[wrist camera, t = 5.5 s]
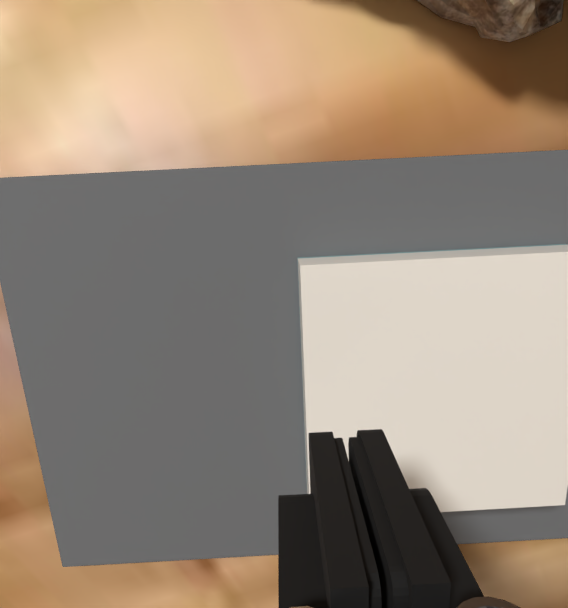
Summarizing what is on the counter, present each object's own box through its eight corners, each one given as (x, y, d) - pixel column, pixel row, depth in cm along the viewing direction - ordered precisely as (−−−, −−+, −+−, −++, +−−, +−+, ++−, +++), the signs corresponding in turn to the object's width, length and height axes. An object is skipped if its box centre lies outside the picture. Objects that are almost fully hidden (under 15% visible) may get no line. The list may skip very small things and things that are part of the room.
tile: (297, 257, 14) (564, 243, 14) (306, 489, 17) (537, 476, 17) (300, 265, 13) (600, 249, 13) (309, 519, 15) (565, 505, 15)
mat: (655, 146, 14) (671, 144, 14) (594, 524, 18) (605, 535, 17) (-10, 179, 14) (-23, 179, 13) (69, 554, 18) (62, 566, 17)
